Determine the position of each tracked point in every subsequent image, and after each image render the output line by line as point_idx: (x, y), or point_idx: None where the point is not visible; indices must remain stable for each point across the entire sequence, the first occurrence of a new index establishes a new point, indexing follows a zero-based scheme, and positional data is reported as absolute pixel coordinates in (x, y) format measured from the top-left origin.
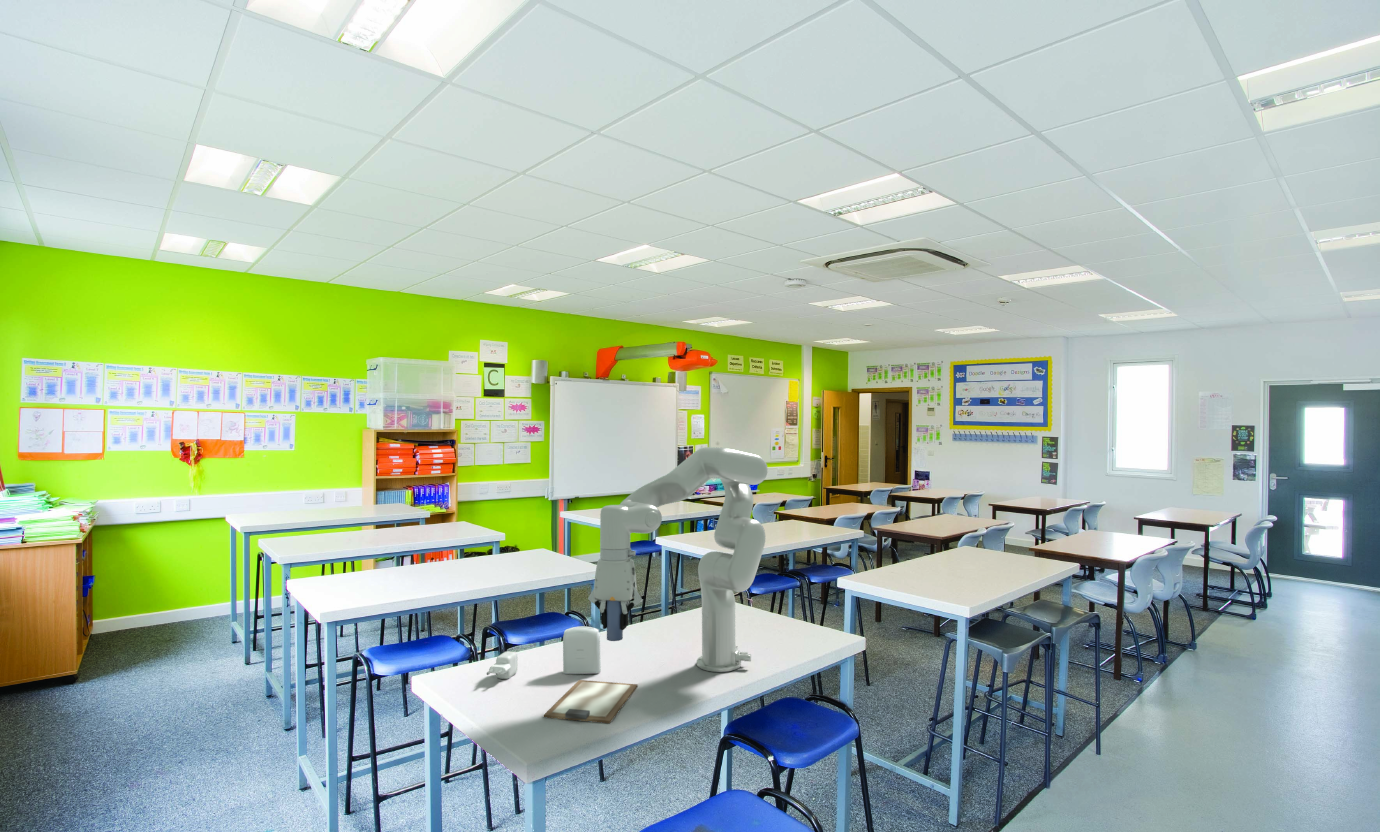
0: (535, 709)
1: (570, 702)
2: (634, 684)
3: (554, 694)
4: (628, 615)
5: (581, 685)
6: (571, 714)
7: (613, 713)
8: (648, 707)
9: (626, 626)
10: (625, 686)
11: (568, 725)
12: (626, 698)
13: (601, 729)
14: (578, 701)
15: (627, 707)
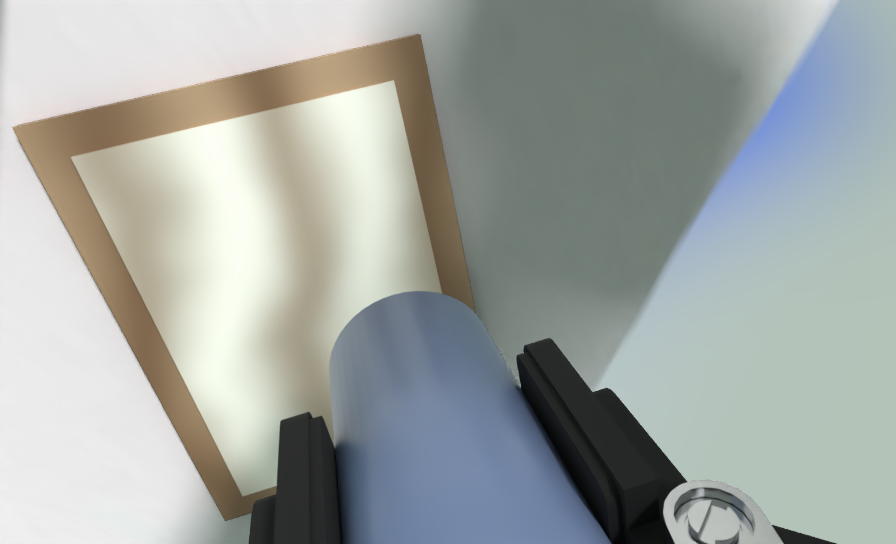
0: (128, 486)
1: (242, 400)
2: (403, 43)
3: (54, 336)
4: (666, 456)
5: (120, 213)
6: None
7: None
8: (580, 248)
9: (548, 342)
10: (377, 110)
11: None
12: (459, 237)
13: None
14: (270, 377)
15: (494, 289)
